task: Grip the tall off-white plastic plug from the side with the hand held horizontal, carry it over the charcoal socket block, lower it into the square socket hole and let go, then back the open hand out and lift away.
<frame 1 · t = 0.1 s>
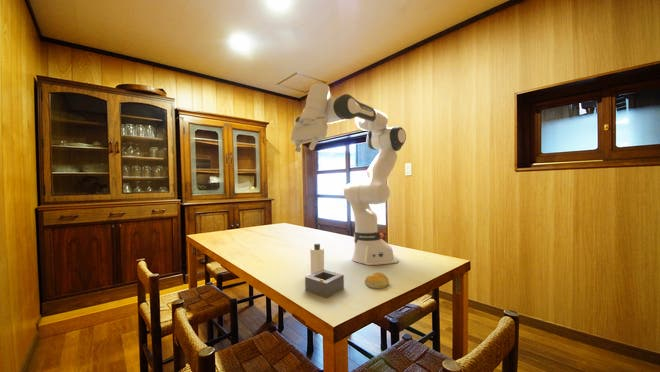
hand: (303, 150, 106), 52 cm above the table, tool tilted 20°, fingers open, 8 cm apart
socket block: (324, 289, 97), on the table
plug: (317, 274, 112), on the table
bread roll: (376, 285, 101), on the table
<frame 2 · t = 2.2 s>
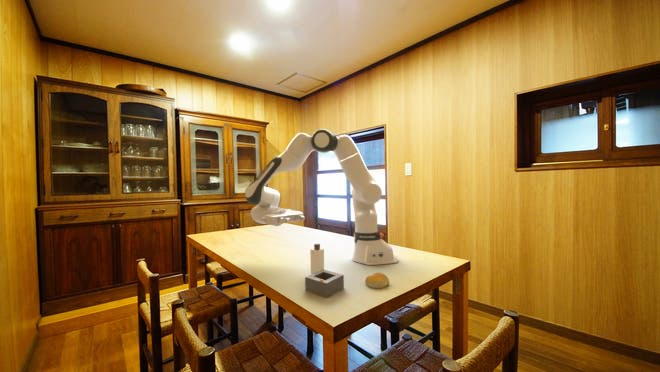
hand: (296, 219, 118), 23 cm above the table, tool horizontal, fingers open, 8 cm apart
nothing on the table moved.
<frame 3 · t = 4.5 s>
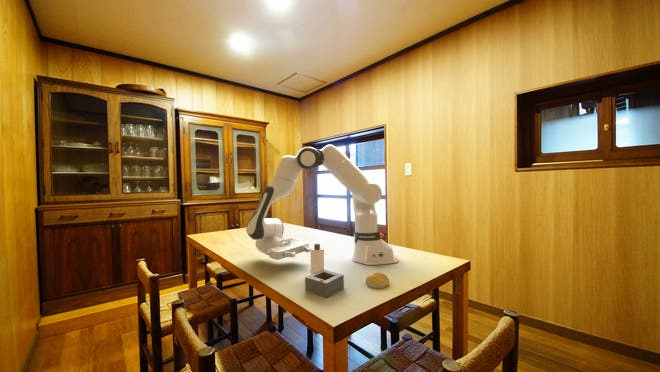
hand: (301, 252, 117), 8 cm above the table, tool horizontal, fingers open, 8 cm apart
nothing on the table moved.
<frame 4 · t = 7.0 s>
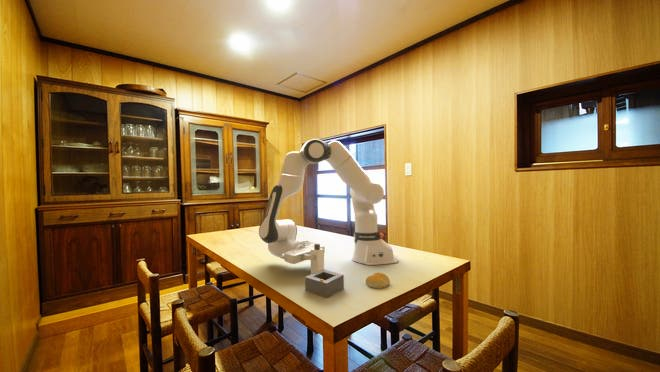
hand: (318, 256, 111), 8 cm above the table, tool horizontal, fingers closed on plug, 4 cm apart
plug: (317, 274, 112), on the table, touching gripper
everything else where it was.
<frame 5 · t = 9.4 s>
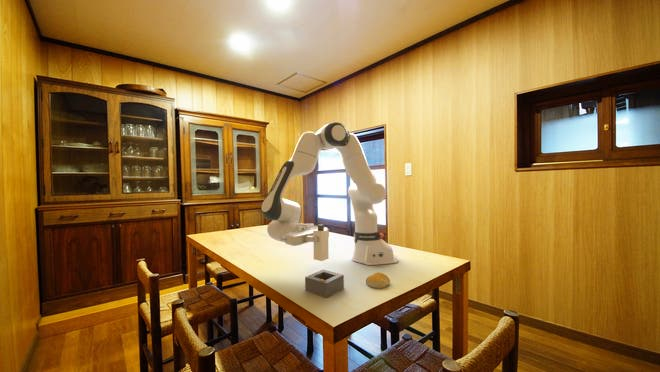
hand: (322, 238, 100), 18 cm above the table, tool horizontal, fingers closed on plug, 4 cm apart
plug: (321, 258, 101), point 10 cm above the table, touching gripper
everything else where it was.
when the fingers open (10 cm above the table, at t = 12.0 s): plug drops 1 cm, resting on socket block.
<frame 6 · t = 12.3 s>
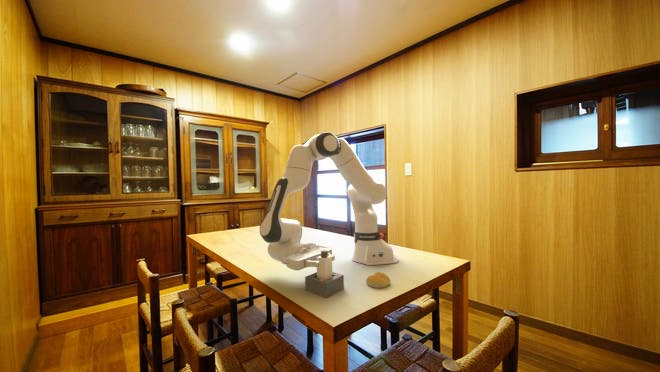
hand: (326, 261, 96), 10 cm above the table, tool horizontal, fingers open, 7 cm apart
plug: (324, 286, 97), point 1 cm above the table, touching socket block
everything else where it was.
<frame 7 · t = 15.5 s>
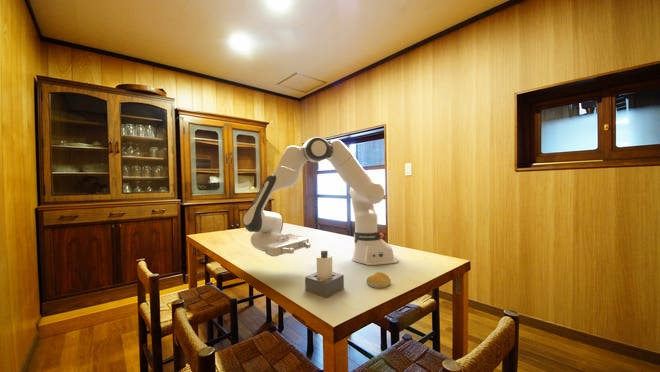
hand: (301, 248, 106), 13 cm above the table, tool horizontal, fingers open, 8 cm apart
nothing on the table moved.
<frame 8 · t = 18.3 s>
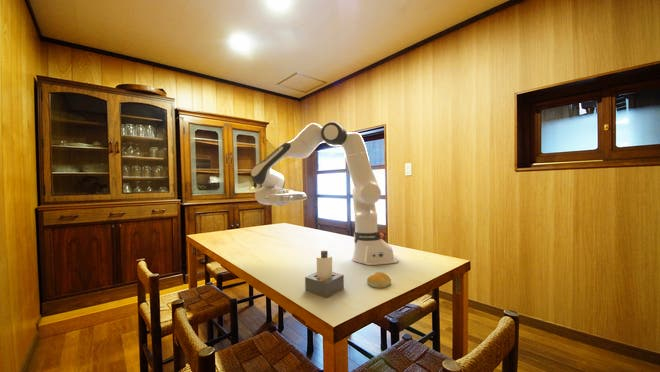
hand: (299, 197, 122), 32 cm above the table, tool horizontal, fingers open, 8 cm apart
nothing on the table moved.
at the end: plug 0.1 cm off-centre on the socket block, point 1.0 cm above the socket block's base; plug tilted 0°; the gripper is holding nothing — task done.
